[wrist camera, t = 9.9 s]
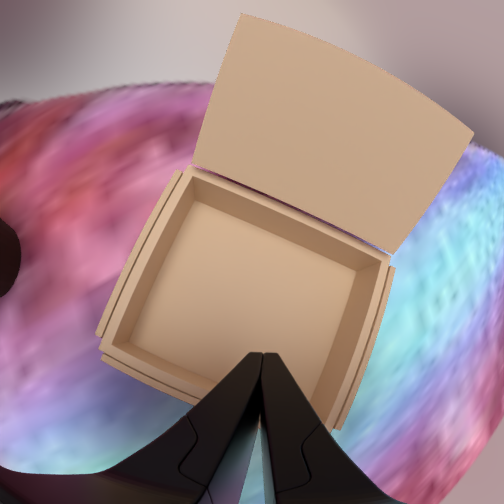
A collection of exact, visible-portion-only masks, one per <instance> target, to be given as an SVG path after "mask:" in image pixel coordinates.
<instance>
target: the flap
mask: <svg viewBox="0 0 504 504" xmlns="http://www.w3.org/2000/svg"><path fill="white" fill-rule="evenodd" d="M473 135H474V132H473V131H472V130H470V129H469V128H468V127H467V126H465V125H464V124H463V123H462V122H460V121H459V120H458V119H457V118H455V117H454V116H453V115H451V114H450V113H449V112H448V111H446V110H445V109H443V108H442V107H441V106H439V105H438V104H437V103H435V102H434V101H432V100H431V99H429V98H428V97H427V96H425V95H424V94H422V93H421V92H419V91H417V90H416V89H414V88H413V87H411V86H410V85H408V84H406V83H405V82H403V81H402V80H400V79H398V78H397V77H395V76H393V75H392V74H390V73H388V72H386V71H385V70H383V69H381V68H379V67H377V66H375V65H373V64H372V63H370V62H368V61H366V60H364V59H362V58H360V57H358V56H356V55H354V54H352V53H350V52H348V51H345V50H343V49H341V48H339V47H337V46H335V45H332V44H330V43H328V42H325V41H323V40H321V39H318V38H316V37H313V36H311V35H308V34H306V33H303V32H300V31H297V30H295V29H292V28H289V27H286V26H283V25H280V24H277V23H274V22H271V21H268V20H264V19H261V18H257V17H254V16H250V15H246V14H243V13H241V15H240V18H239V20H238V22H237V25H236V27H235V30H234V33H233V35H232V38H231V40H230V43H229V46H228V49H227V51H226V54H225V57H224V60H223V62H222V65H221V68H220V71H219V74H218V77H217V80H216V83H215V86H214V89H213V92H212V95H211V98H210V101H209V104H208V107H207V111H206V114H205V117H204V120H203V124H202V127H201V131H200V134H199V137H198V141H197V144H196V148H195V152H194V155H193V159H192V163H193V164H195V165H198V166H200V167H203V168H205V169H208V170H210V171H213V172H215V173H218V174H220V175H223V176H225V177H228V178H230V179H232V180H235V181H237V182H240V183H242V184H244V185H247V186H249V187H251V188H254V189H256V190H258V191H261V192H263V193H265V194H268V195H270V196H272V197H274V198H277V199H279V200H281V201H283V202H286V203H288V204H290V205H292V206H294V207H297V208H299V209H301V210H303V211H305V212H308V213H310V214H312V215H314V216H316V217H318V218H320V219H322V220H325V221H327V222H329V223H331V224H333V225H335V226H337V227H339V228H341V229H343V230H345V231H347V232H349V233H351V234H353V235H355V236H357V237H359V238H361V239H363V240H365V241H367V242H369V243H371V244H373V245H375V246H377V247H379V248H381V249H383V250H385V251H387V252H389V253H391V254H394V253H395V252H396V251H397V249H398V248H399V247H400V245H401V244H402V243H403V241H404V240H405V239H406V237H407V236H408V235H409V233H410V232H411V231H412V229H413V228H414V227H415V225H416V224H417V223H418V221H419V220H420V218H421V217H422V216H423V214H424V213H425V211H426V210H427V208H428V207H429V206H430V204H431V203H432V201H433V200H434V198H435V197H436V195H437V194H438V192H439V191H440V189H441V188H442V186H443V185H444V183H445V182H446V180H447V179H448V177H449V175H450V174H451V172H452V171H453V169H454V167H455V166H456V164H457V163H458V161H459V159H460V158H461V156H462V154H463V153H464V151H465V149H466V147H467V146H468V144H469V142H470V141H471V139H472V137H473Z"/></svg>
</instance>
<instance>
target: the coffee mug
mask: <svg viewBox="0 0 504 504" xmlns="http://www.w3.org/2000/svg"><path fill="white" fill-rule="evenodd" d="M20 261H21V249H20V243H19V239H18V237H17V234H16V233H15V231H14V230H13V229H12V228H11V227H10V226H8V225H7V224H6V223H5V222H4V221H3V220H2V219H1V218H0V297H2V296H3V295H5V294H6V293H7V292H8V291H9V290H10V289H11V287H12V285H13V284H14V282H15V280H16V277H17V275H18V271H19V267H20Z"/></svg>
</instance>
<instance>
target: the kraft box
mask: <svg viewBox="0 0 504 504" xmlns="http://www.w3.org/2000/svg"><path fill="white" fill-rule="evenodd" d="M390 258H391V256H389V255H388V254H386V253H384V252H382V251H380V250H378V249H376V248H374V247H372V246H370V245H368V244H366V243H364V242H362V241H360V240H358V239H356V238H354V237H352V236H350V235H348V234H346V233H344V232H342V231H340V230H338V229H335V228H333V227H331V226H329V225H327V224H325V223H323V222H321V221H319V220H317V219H314V218H312V217H310V216H308V215H306V214H304V213H301V212H299V211H297V210H295V209H293V208H290V207H288V206H286V205H284V204H282V203H279V202H277V201H275V200H273V199H270V198H268V197H266V196H263V195H261V194H259V193H257V192H254V191H252V190H250V189H247V188H245V187H242V186H240V185H238V184H235V183H233V182H231V181H228V180H226V179H223V178H221V177H218V176H216V175H214V174H211V173H209V172H206V171H204V170H201V169H199V168H196V167H193V166H191V165H188V166H187V168H186V170H185V171H184V173H182V171H179V170H177V169H176V171H175V173H174V174H173V176H172V178H171V179H170V181H169V183H168V185H167V186H166V188H165V190H164V191H163V193H162V195H161V197H160V199H159V200H158V202H157V204H156V206H155V208H154V209H153V211H152V213H151V215H150V217H149V219H148V220H147V222H146V224H145V226H144V228H143V230H142V232H141V234H140V236H139V238H138V240H137V242H136V244H135V246H134V248H133V250H132V252H131V254H130V256H129V258H128V260H127V262H126V264H125V266H124V268H123V270H122V272H121V275H120V277H119V279H118V281H117V283H116V285H115V288H114V290H113V292H112V294H111V297H110V299H109V301H108V304H107V306H106V308H105V311H104V313H103V315H102V318H101V320H100V323H99V325H98V328H97V330H96V333H95V335H97V336H99V337H100V338H103V339H102V341H101V344H100V346H99V350H101V351H103V352H104V353H103V355H102V357H101V360H102V361H103V362H105V363H107V364H109V365H110V366H112V367H114V368H116V369H118V370H120V371H121V372H123V373H125V374H127V375H129V376H131V377H133V378H135V379H137V380H139V381H141V382H143V383H145V384H147V385H149V386H151V387H153V388H155V389H157V390H160V391H162V392H164V393H166V394H168V395H171V396H173V397H175V398H177V399H180V400H182V401H184V402H187V403H189V404H192V405H194V406H195V405H196V404H197V403H198V402H199V401H200V400H201V399H202V398H203V397H204V396H206V395H207V394H208V393H209V392H210V391H211V390H212V389H213V388H214V387H215V386H216V385H217V384H218V383H219V382H220V381H221V380H222V379H223V378H224V377H225V376H226V375H227V374H228V373H229V372H230V371H231V370H232V369H233V368H234V367H235V366H236V365H237V364H238V363H239V362H240V361H241V360H242V359H243V358H244V357H245V356H246V355H247V354H248V353H249V352H262V353H263V355H264V353H265V352H275V353H278V354H279V355H280V357H281V358H282V360H283V362H284V363H285V365H286V366H287V368H288V370H289V371H290V373H291V374H292V376H293V377H294V379H295V381H296V382H297V384H298V385H299V387H300V388H301V390H302V392H303V393H304V395H305V396H306V398H307V399H308V401H309V402H310V404H311V406H312V407H313V409H314V410H315V412H316V413H317V415H318V416H319V418H320V419H321V421H322V423H323V424H324V425H325V427H326V428H327V430H328V431H329V433H331V431H332V429H333V428H334V429H337V430H341V428H342V426H343V424H344V421H345V419H346V417H347V415H348V412H349V410H350V408H351V405H352V403H353V400H354V398H355V396H356V393H357V391H358V388H359V386H360V383H361V380H362V378H363V375H364V372H365V370H366V367H367V364H368V361H369V358H370V356H371V353H372V350H373V347H374V344H375V341H376V338H377V334H378V331H379V328H380V325H381V322H382V318H383V315H384V311H385V308H386V304H387V301H388V297H389V293H390V289H391V285H392V281H393V277H394V273H395V269H396V268H394V267H393V266H389V263H390ZM258 428H259V429H260V421H259V426H258Z"/></svg>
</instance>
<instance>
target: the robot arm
mask: <svg viewBox="0 0 504 504" xmlns="http://www.w3.org/2000/svg"><path fill="white" fill-rule="evenodd" d="M259 421H260V431H261V447H262V463H263V479H264V495H265V504H407V503H403V502H400V501H397V500H395V499H393V498H391V497H390V496H388V495H387V494H385V493H384V492H383V491H382V490H380V489H379V488H378V487H377V486H376V485H375V484H374V483H373V482H372V481H371V480H370V479H369V478H368V477H367V476H366V475H365V473H364V472H363V471H362V470H361V469H360V468H359V467H358V466H357V465H356V464H355V463H354V462H353V461H352V460H351V459H350V458H349V457H348V455H347V454H346V453H345V452H344V451H343V450H342V449H341V447H340V446H339V445H338V444H337V442H336V441H335V440H334V438H333V437H332V436H331V434H330V433H329V431H328V430H327V428H326V427H325V425H324V424H323V423H322V421H321V419H320V418H319V416H318V415H317V413H316V412H315V410H314V409H313V407H312V406H311V404H310V402H309V401H308V399H307V398H306V396H305V395H304V393H303V392H302V390H301V388H300V387H299V385H298V384H297V382H296V381H295V379H294V377H293V376H292V374H291V373H290V371H289V370H288V368H287V366H286V365H285V363H284V362H283V360H282V358H281V357H280V355H279V354H278V353H275V352H265V353H264V355H263V353H262V352H249V353H248V354H247V355H246V356H245V357H244V358H243V359H242V360H241V361H240V362H239V363H238V364H237V365H236V366H235V367H234V368H233V369H232V370H231V371H230V372H229V373H228V374H227V375H226V376H225V377H224V378H223V379H222V380H221V381H220V382H219V383H218V384H217V385H216V386H215V387H214V388H213V389H212V390H211V391H210V392H209V393H208V394H207V395H206V396H204V397H203V398H202V399H201V400H200V401H199V402H198V403H197V404H196V405H195V406H194V407H193V408H192V409H191V410H190V411H189V412H188V413H186V415H184V416H183V417H182V418H181V419H180V420H179V421H178V422H176V423H175V424H174V425H173V426H172V427H171V428H169V429H168V430H167V431H166V432H165V433H163V434H162V435H161V436H159V437H158V438H156V439H155V440H154V441H152V442H151V443H149V444H148V445H146V446H145V447H143V448H142V449H140V450H139V451H137V452H136V453H134V454H132V455H131V456H129V457H128V458H126V459H125V460H123V461H121V462H120V463H118V464H116V465H115V466H113V467H111V468H109V469H107V470H104V471H101V472H98V473H93V474H72V475H56V474H31V473H21V472H16V471H12V470H9V469H6V468H4V467H2V466H0V504H238V503H239V500H240V496H241V492H242V489H243V485H244V481H245V478H246V474H247V470H248V466H249V462H250V458H251V455H252V451H253V447H254V443H255V439H256V434H257V430H258V426H259Z"/></svg>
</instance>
